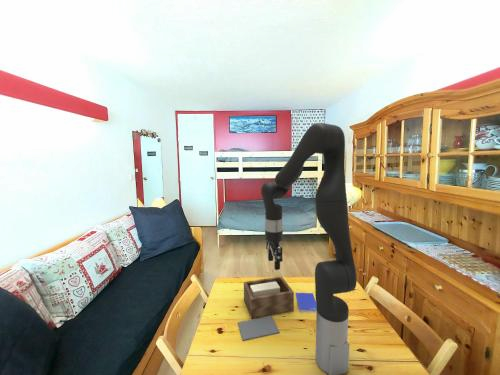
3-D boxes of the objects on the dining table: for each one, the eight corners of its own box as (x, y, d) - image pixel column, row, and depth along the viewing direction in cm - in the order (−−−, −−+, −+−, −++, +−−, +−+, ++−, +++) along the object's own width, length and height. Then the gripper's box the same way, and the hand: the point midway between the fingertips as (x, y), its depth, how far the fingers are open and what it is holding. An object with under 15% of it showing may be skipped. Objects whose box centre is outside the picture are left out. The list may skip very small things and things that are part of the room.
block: (253, 302, 96) (253, 291, 95) (250, 296, 101) (250, 285, 100) (280, 298, 99) (280, 287, 98) (275, 291, 104) (275, 281, 103)
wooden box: (251, 319, 92) (251, 299, 91) (244, 299, 105) (243, 282, 104) (293, 311, 97) (293, 292, 95) (281, 293, 109) (281, 276, 108)
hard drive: (319, 310, 95) (313, 293, 108) (299, 309, 96) (295, 292, 108) (318, 313, 95) (313, 296, 108) (299, 313, 96) (295, 295, 108)
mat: (279, 333, 85) (279, 331, 85) (242, 341, 81) (242, 339, 81) (271, 316, 93) (271, 315, 93) (237, 323, 90) (237, 322, 90)
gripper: (288, 233, 91) (288, 271, 93) (276, 223, 105) (276, 256, 107) (270, 235, 89) (270, 274, 92) (260, 224, 103) (261, 258, 105)
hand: (273, 264), depth 99 cm, fingers open, 8 cm apart
